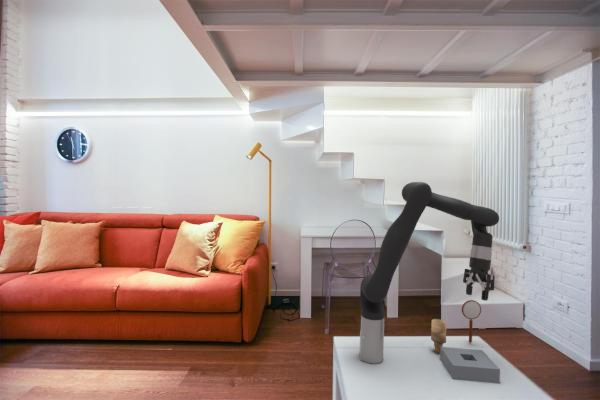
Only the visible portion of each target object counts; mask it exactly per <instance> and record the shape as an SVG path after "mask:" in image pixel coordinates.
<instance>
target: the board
mask: <svg viewBox="0 0 600 400" xmlns="http://www.w3.org/2000/svg"><path fill="white" fill-rule="evenodd" d="M439 354H440V355H439V357H440V358H439V359H440V361H441V362H442V365H443V366H444V367H445V369H446V370H447V372H448V374H449V376H450V377H451V379H453V380H461V381H471V382H472V381H473V382H483V383H484V382H485V383H495V384H500V381H501V380H500V379H501V369H500V368H499V367H498V366H497V364H496V363H495V362H494V361H493V360H492V359H491V358H490V356H488V354H486V353H485V351H484V350H482V349H474V348H473V349H472V348H460V347H459V348H458V347H447V346H443V347H441V349H440V353H439Z"/></svg>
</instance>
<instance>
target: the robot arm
mask: <svg viewBox="0 0 600 400" xmlns="http://www.w3.org/2000/svg"><path fill="white" fill-rule="evenodd" d="M401 197H402V198H403V201H404V202H406V203H405V205H404V207H403V210H402V211H401V213H400V214H399V215H398V216H397V218H396V219H395V220H394V221H393V223H392V224H391V225H389V228H388V229H387V231H386V233H385V235H384V237H383V240H382V242H381V245H380V250H379V256H378V261H377V265H376V267H375V270H374V272H373V273H372V274H368V275H365V276H364V277H363V279H362V280H361V281H360V289H359V293H360V294H359V297H360V298H359V300H360V301H359V303H360V305H359V306H360V312H361V313H360V331H359V359H360V361H361V362H365V363H368V364H372V365H373V364H381V363H383V361H384V345H385V344H384V342H385V341H384V340H385V308H384V304H383V302H384V299H385V298H386V297H387V295H388V293H389V290H390V287H391V284H392V279H393V277H394V275H395V272H396V270H397V268H398V265H399V264H400V262H401V259H402V257H403V255H404V253H405V252H406V249H407V248H408V245H409V242H410V241H411V238H412V235H413V233H414V231H415V229H416V226H417V224H418V222H419V220H420V219H421V216H422V215H423V213H424V211H425V209H426V208H427V207H428V208H431V209H434V210H437V211H440V212H443V213H445V214H447V215H450V216H452V217H456V218H458V219H462V220H465V221H470V224H471V225H470V226H471V231H472V245H471V248H470V254H469V255H470V256H469V263H468V266H469V269H468V268H465V269H464V271H463V272H464V273H463V280H462V283H464V284H465V285H466V289H465V293H466V295H468V296H472V295H473V286H474V284H475V283H478V284H479V285H480V287H481V288H482V290H481V300H482V301H488V300H489V293H490V292H491V291H495V278H496V276H495V274H490V273H489V271H490V270H491V265H492V256H493V255H492V254H493V252H492V247H493V238H494V237H493V235H492V233H490V232H488V228H487V227H494V226H496V225H497V224H498V223H499V221H500V216H499V214H498V212H497V211H496V210H494V209H491V208H488V207H485V206H479V205H475V204H472V203H469V202H467V201H464V200H461V199H457V198H454V197H451V196H450V197H449V196H446V195H442V194H438V193H436V192H433V191H432V188H431V186H430V185H429V184H428V183H426V182H425V181H423V182H422V181H412V182H409V183H407V184H405V185H404V186H403V187H402V189H401Z"/></svg>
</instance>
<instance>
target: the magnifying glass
mask: <svg viewBox="0 0 600 400" xmlns="http://www.w3.org/2000/svg"><path fill="white" fill-rule="evenodd" d="M461 312H462V315H463V316H464V318H466V319H468V320H469V325H468V326H469V327H468V328H469V329H468V342H469V344H470V345H471V344H472V342H473V322H474V321H473V320H475V319H477V318H478V317H479V316H480V315H481V313H482V307H481V305H480V303H479V302H478V301H477V300H473V299H470V300H469V299H468V300H466V301H465V302H464V303H463V304H462V306H461Z"/></svg>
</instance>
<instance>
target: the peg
mask: <svg viewBox="0 0 600 400" xmlns="http://www.w3.org/2000/svg"><path fill="white" fill-rule="evenodd" d="M430 330H431V333H430V334H431V335H430V340H431V341H432V342H433V347H434V352H435V353H436V352H437V353H436V354H440V349H441V347H444V344H445V343H447V321H445V320H443V319H440V318H433V319H431V328H430Z"/></svg>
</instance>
